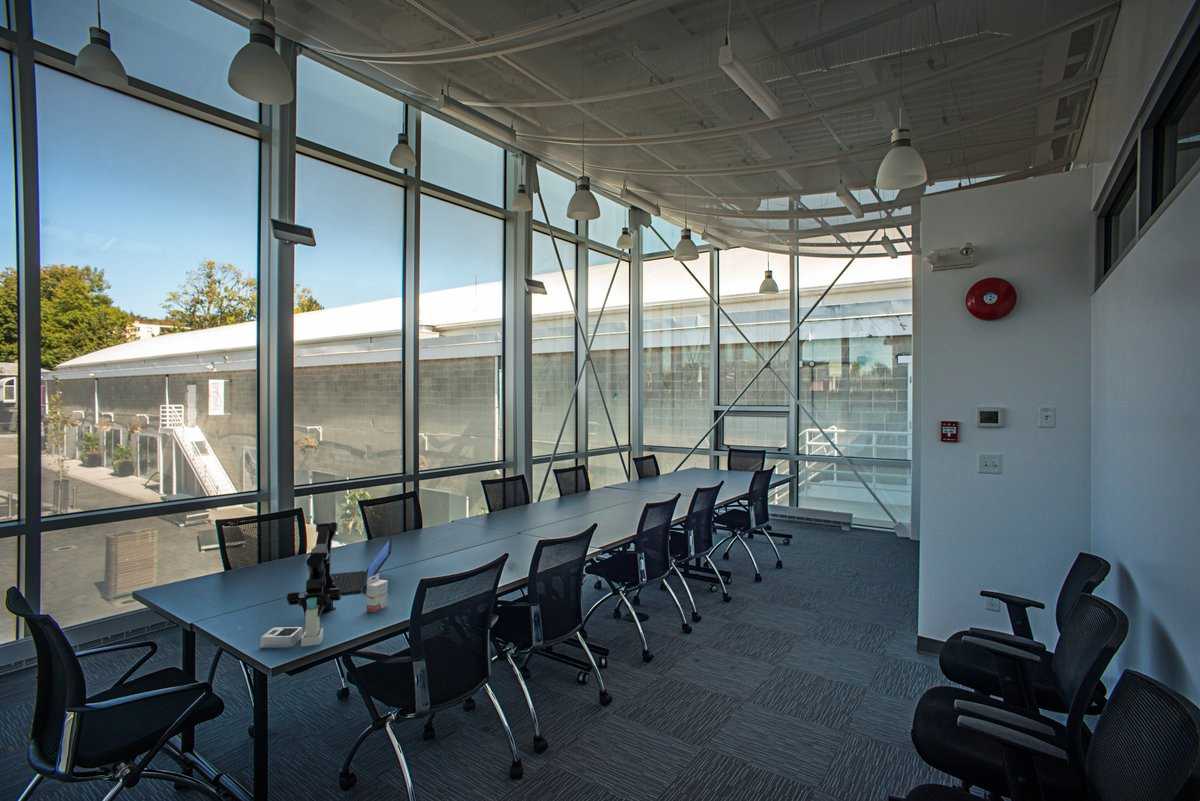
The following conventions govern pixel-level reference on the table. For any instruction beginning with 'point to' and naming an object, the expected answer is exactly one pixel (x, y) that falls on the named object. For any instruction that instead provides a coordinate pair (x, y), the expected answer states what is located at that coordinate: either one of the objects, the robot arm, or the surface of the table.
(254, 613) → the table surface
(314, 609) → the plug
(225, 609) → the table surface
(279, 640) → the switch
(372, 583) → the ink cartridge box
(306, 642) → the box
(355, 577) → the laptop
